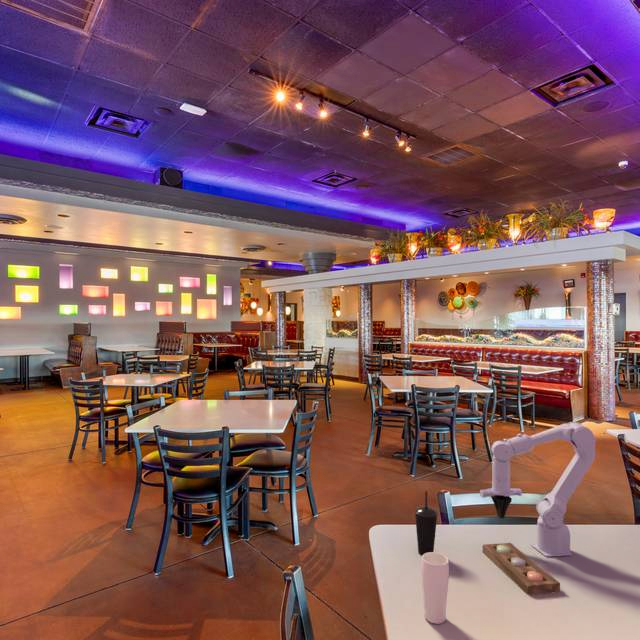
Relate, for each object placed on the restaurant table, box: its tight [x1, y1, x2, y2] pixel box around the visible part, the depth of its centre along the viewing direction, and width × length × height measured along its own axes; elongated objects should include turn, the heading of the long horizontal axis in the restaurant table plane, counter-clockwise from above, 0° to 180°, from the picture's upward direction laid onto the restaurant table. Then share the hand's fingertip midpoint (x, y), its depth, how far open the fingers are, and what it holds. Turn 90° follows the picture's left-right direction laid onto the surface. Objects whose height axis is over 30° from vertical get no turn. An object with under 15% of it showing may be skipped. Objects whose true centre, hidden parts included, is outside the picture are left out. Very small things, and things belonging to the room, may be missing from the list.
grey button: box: [511, 557, 525, 567], centre depth 136 cm, size 4×4×3 cm
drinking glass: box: [421, 551, 450, 625], centre depth 113 cm, size 7×7×15 cm
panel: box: [482, 542, 561, 596], centre depth 136 cm, size 10×24×2 cm, turn 9°
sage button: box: [497, 545, 510, 554], centre depth 144 cm, size 4×4×3 cm
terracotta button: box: [527, 571, 543, 582], centre depth 128 cm, size 4×4×3 cm
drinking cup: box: [413, 490, 439, 556], centre depth 146 cm, size 8×8×20 cm
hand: (500, 517), depth 153 cm, fingers closed
